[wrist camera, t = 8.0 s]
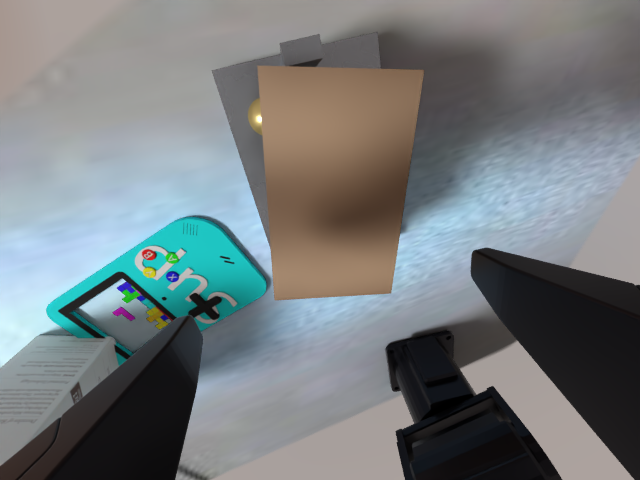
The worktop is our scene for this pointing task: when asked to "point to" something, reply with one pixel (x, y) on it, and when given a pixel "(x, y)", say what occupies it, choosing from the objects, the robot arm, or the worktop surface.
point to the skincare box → (48, 384)
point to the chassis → (244, 98)
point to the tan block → (336, 175)
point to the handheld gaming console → (170, 280)
